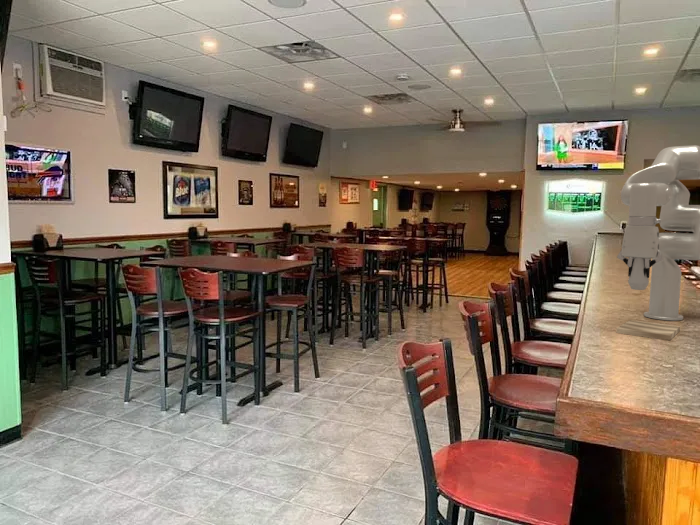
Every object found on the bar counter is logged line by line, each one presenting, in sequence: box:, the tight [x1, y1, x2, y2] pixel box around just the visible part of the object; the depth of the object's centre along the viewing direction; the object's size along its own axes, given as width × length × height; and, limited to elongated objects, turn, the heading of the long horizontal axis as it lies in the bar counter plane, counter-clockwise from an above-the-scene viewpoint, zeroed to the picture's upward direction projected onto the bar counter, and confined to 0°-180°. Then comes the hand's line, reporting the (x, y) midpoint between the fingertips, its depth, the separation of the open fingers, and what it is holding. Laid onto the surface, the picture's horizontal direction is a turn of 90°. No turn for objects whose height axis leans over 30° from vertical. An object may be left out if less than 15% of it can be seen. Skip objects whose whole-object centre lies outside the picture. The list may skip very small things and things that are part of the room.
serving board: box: [616, 319, 681, 341], centre depth 172 cm, size 18×15×2 cm
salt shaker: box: [627, 254, 650, 291], centre depth 169 cm, size 6×6×13 cm
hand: (638, 279), depth 169 cm, fingers closed on salt shaker, 3 cm apart
